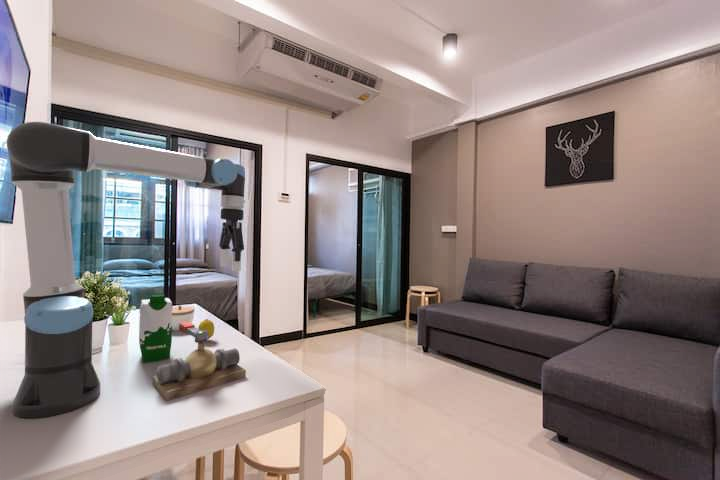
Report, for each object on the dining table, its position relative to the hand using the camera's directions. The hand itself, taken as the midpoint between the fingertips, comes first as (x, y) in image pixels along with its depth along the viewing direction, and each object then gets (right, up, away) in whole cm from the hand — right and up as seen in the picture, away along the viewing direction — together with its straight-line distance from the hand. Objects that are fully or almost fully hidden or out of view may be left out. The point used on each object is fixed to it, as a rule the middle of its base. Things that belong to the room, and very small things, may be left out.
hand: (230, 268), depth 120 cm
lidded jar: (-28, -26, +19) cm, 42 cm away
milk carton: (-19, -27, -12) cm, 35 cm away
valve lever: (-1, -17, -24) cm, 29 cm away
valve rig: (+3, -28, -28) cm, 39 cm away
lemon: (-11, -27, +5) cm, 29 cm away
